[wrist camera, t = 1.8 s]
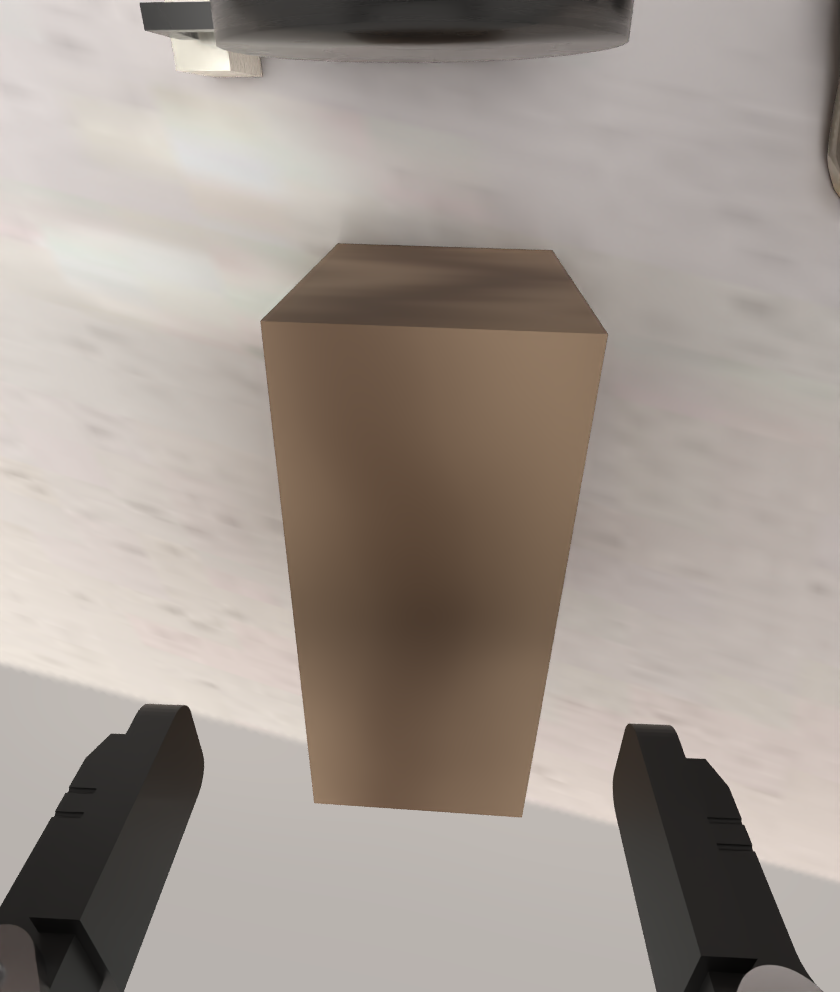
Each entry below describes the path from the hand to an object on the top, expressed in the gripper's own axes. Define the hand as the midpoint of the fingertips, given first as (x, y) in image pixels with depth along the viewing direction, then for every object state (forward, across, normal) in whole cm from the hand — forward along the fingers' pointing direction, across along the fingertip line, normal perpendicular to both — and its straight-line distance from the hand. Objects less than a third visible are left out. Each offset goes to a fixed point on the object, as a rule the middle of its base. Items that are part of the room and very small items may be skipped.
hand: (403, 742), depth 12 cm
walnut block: (+11, 0, 0) cm, 11 cm away
